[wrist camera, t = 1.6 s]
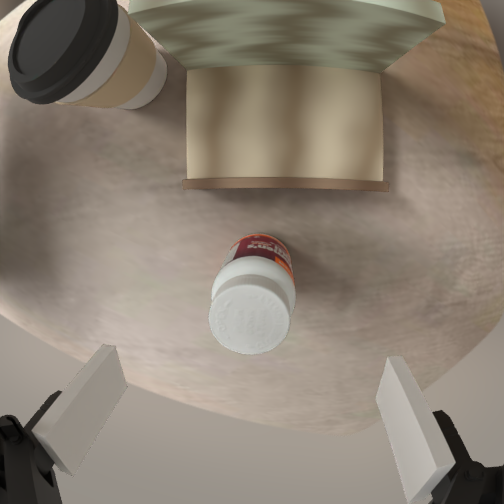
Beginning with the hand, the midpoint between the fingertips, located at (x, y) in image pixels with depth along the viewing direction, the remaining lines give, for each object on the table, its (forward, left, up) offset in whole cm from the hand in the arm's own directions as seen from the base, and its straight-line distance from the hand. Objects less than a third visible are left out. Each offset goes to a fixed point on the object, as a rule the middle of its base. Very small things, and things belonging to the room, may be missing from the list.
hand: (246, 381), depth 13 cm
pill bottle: (0, 0, -17) cm, 17 cm away
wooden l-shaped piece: (+2, +14, -17) cm, 22 cm away
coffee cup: (-12, +19, -17) cm, 28 cm away
